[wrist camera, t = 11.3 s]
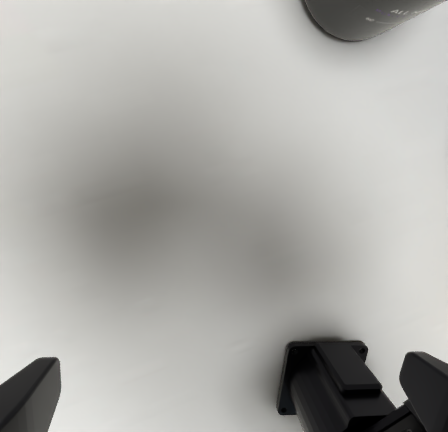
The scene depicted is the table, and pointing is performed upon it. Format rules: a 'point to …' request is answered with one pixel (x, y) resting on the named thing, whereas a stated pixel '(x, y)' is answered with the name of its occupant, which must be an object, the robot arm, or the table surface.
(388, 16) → the supplement bottle
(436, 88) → the table surface
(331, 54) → the table surface
